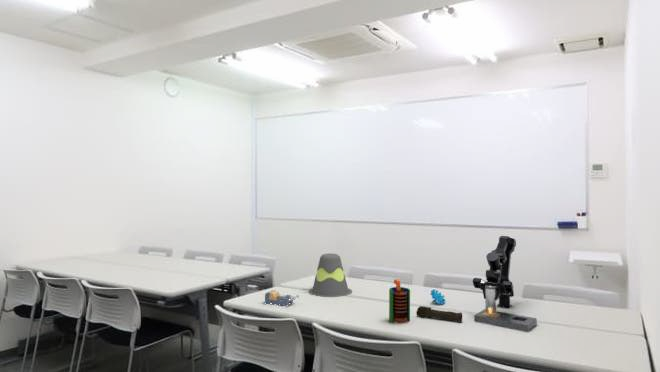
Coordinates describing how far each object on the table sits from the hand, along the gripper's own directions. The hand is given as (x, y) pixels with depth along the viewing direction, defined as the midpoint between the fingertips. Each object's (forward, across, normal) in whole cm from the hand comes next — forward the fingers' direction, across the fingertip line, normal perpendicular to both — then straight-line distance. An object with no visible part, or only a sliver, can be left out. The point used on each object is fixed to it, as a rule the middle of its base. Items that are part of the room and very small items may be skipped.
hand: (490, 299), depth 211 cm
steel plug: (+4, 0, +6) cm, 7 cm away
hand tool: (+15, -23, +1) cm, 27 cm away
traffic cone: (+1, -101, +15) cm, 102 cm away
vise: (+29, -109, -13) cm, 113 cm away
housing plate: (+7, +7, +9) cm, 13 cm away
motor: (+24, -39, -8) cm, 46 cm away
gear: (-6, -33, +22) cm, 40 cm away
